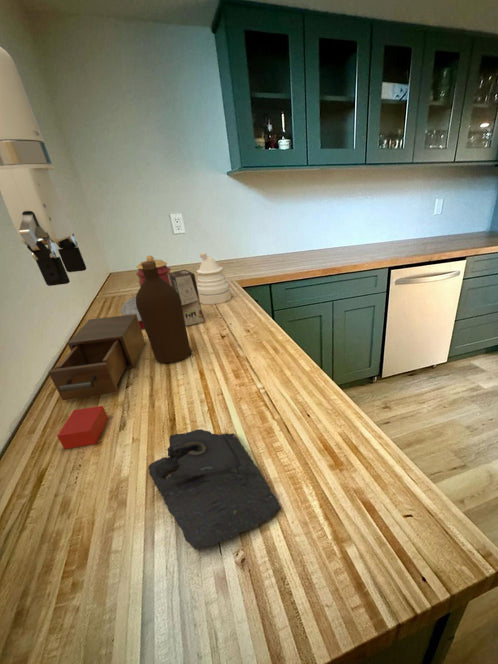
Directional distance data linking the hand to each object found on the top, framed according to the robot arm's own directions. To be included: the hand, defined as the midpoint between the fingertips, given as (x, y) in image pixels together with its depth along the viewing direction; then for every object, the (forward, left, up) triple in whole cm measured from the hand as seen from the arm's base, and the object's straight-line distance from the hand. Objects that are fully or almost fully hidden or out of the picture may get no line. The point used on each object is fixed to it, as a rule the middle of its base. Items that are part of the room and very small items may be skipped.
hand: (68, 277), depth 57 cm
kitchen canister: (-3, +79, -28) cm, 84 cm away
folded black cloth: (+19, -27, -28) cm, 43 cm away
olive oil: (+8, +23, -28) cm, 37 cm away
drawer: (-8, +12, -27) cm, 30 cm away
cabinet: (-8, +27, -28) cm, 40 cm away
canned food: (-6, +52, -28) cm, 60 cm away
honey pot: (+19, +72, -28) cm, 80 cm away
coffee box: (+11, +50, -28) cm, 59 cm away
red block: (-5, -7, -28) cm, 29 cm away
